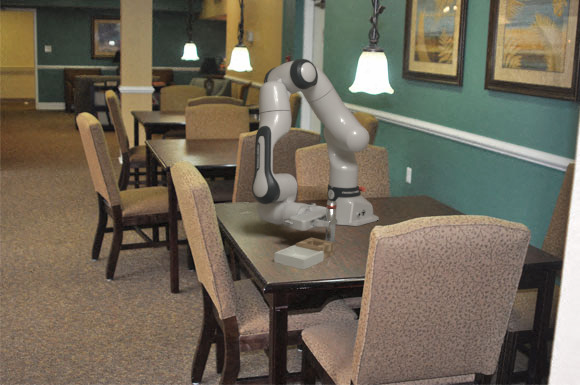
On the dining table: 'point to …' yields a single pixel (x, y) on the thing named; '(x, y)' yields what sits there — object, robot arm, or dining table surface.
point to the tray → (298, 257)
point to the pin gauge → (332, 218)
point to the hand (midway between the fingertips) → (333, 222)
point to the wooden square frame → (318, 246)
